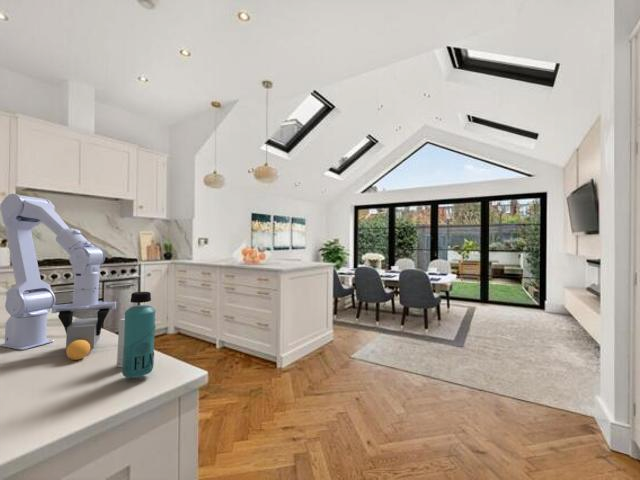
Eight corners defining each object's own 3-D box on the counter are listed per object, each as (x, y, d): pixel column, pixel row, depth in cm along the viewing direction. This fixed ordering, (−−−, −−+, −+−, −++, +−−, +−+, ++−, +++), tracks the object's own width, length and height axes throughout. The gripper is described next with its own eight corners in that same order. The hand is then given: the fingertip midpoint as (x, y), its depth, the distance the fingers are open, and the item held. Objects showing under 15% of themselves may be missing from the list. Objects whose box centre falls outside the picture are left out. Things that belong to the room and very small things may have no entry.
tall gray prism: (74, 340, 89) (75, 319, 90) (99, 338, 92) (100, 317, 92) (65, 351, 80) (66, 327, 80) (93, 348, 83) (94, 325, 83)
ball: (63, 344, 80) (58, 358, 76) (80, 332, 80) (76, 346, 76) (80, 352, 83) (76, 366, 79) (96, 341, 83) (93, 354, 79)
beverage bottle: (129, 387, 65) (134, 295, 66) (115, 379, 69) (119, 292, 69) (159, 376, 71) (163, 292, 71) (144, 369, 74) (147, 289, 75)
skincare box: (130, 369, 74) (132, 320, 75) (116, 367, 75) (118, 319, 75) (149, 360, 80) (151, 315, 81) (135, 358, 81) (137, 314, 81)
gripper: (49, 291, 80) (46, 343, 79) (115, 289, 87) (112, 336, 86) (56, 288, 86) (54, 335, 85) (117, 286, 93) (115, 330, 93)
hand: (84, 335), depth 86 cm, fingers closed on tall gray prism, 6 cm apart
